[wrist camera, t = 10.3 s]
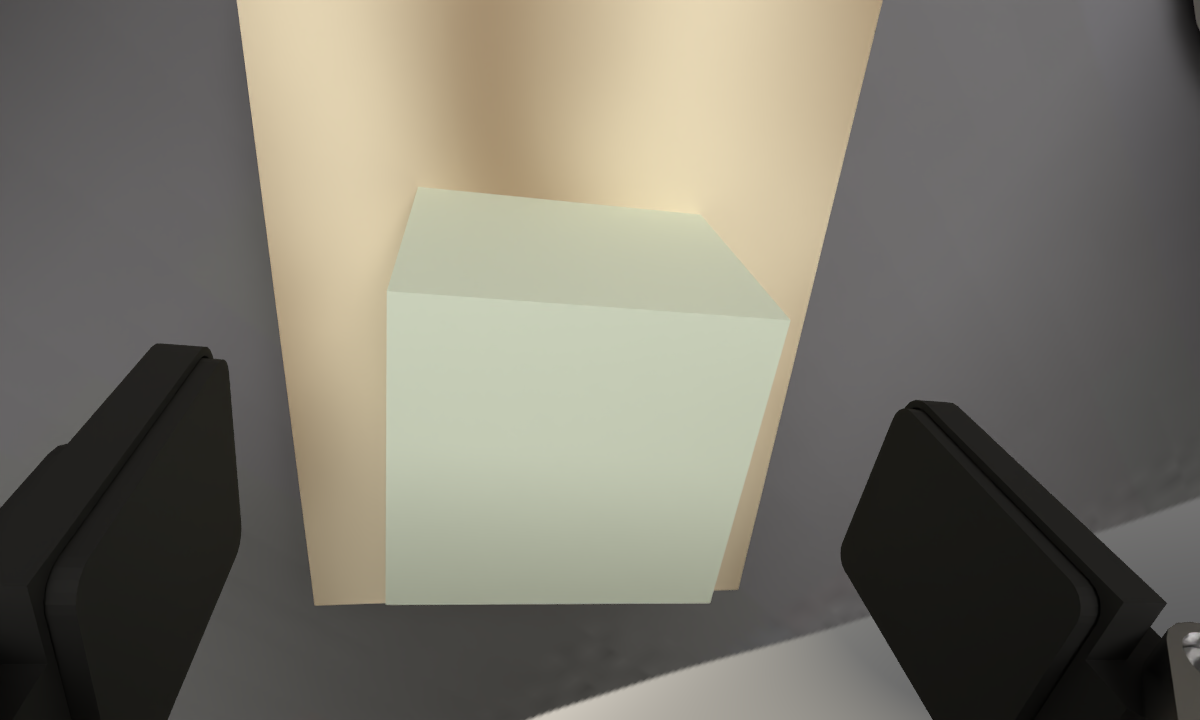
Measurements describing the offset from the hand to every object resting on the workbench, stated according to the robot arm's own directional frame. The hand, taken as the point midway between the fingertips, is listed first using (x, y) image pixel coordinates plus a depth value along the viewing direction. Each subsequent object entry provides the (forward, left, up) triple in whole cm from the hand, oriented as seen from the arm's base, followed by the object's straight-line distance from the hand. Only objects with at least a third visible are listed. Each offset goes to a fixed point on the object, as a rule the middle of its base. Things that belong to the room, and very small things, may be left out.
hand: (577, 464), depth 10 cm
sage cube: (0, 0, -4) cm, 4 cm away
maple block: (0, 0, -9) cm, 9 cm away
